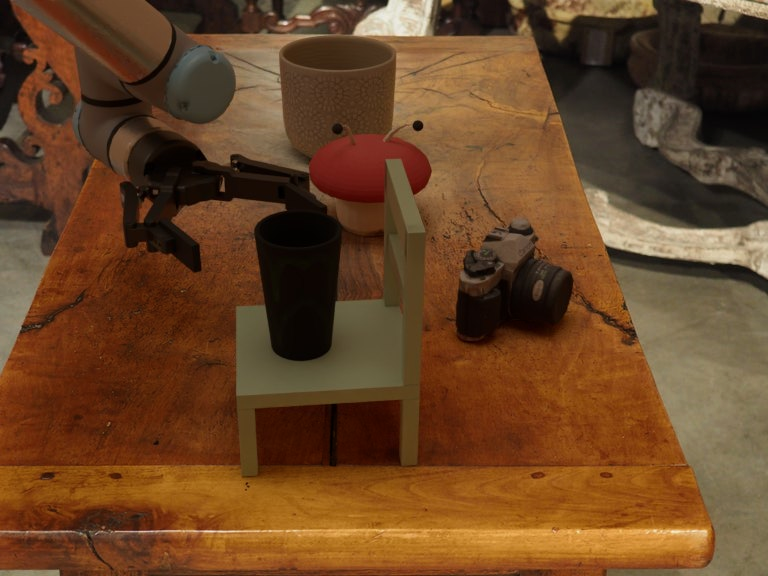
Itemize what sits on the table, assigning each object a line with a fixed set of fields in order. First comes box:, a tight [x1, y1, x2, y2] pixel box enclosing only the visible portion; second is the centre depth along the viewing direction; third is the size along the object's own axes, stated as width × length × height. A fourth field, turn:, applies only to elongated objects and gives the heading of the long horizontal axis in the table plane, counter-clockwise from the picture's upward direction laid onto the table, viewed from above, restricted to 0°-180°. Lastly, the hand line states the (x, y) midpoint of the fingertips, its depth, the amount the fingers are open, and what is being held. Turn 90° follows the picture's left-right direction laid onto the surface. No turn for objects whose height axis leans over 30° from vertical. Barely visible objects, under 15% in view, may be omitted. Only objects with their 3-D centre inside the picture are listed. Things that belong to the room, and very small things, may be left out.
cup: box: [253, 210, 343, 361], centre depth 96 cm, size 8×8×12 cm
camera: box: [455, 217, 574, 342], centre depth 118 cm, size 16×10×10 cm, turn 150°
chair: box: [235, 159, 427, 478], centre depth 98 cm, size 16×15×24 cm
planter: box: [278, 34, 397, 159], centre depth 158 cm, size 17×17×15 cm
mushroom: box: [308, 119, 433, 237], centre depth 137 cm, size 16×16×15 cm
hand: (263, 238), depth 99 cm, fingers open, 13 cm apart
